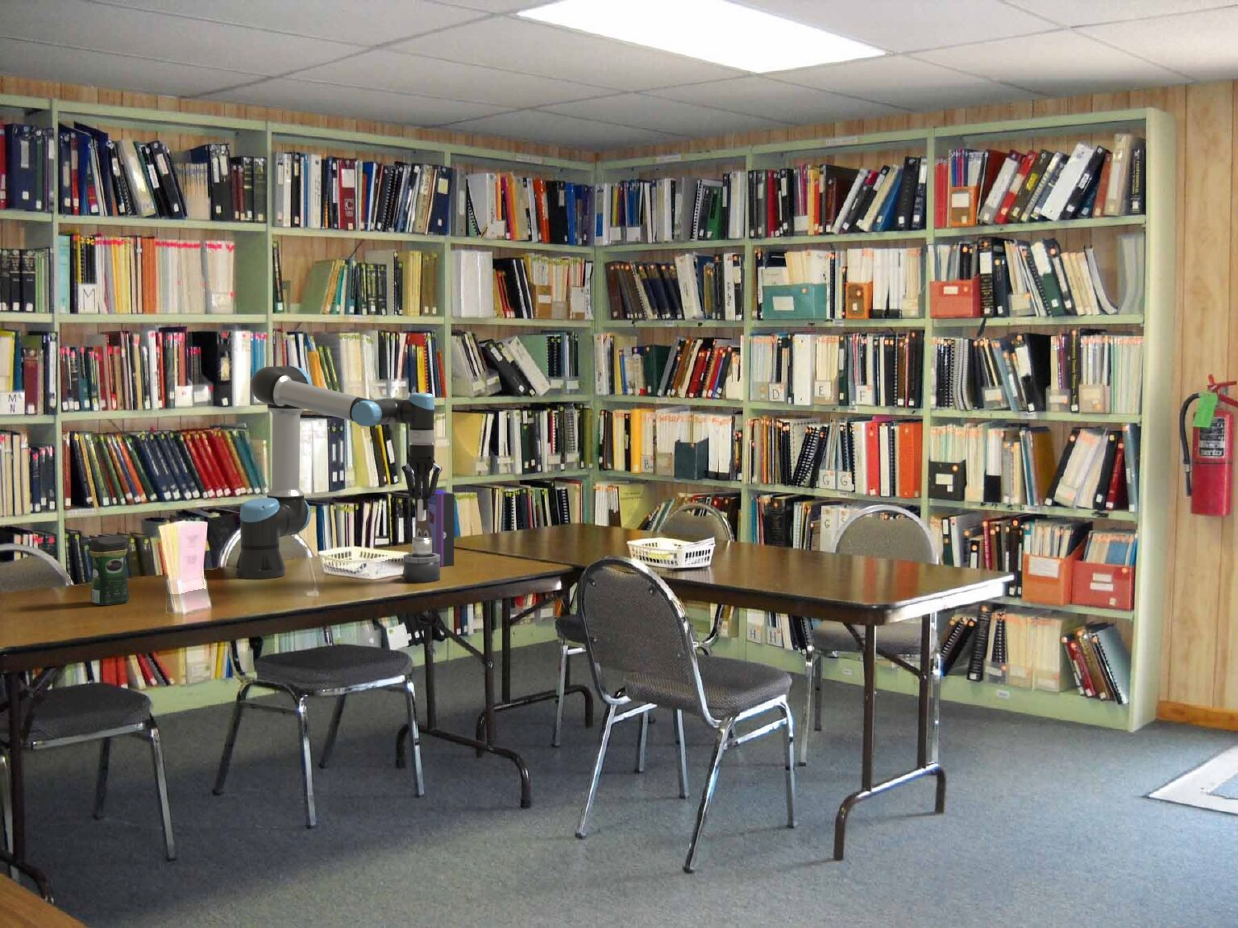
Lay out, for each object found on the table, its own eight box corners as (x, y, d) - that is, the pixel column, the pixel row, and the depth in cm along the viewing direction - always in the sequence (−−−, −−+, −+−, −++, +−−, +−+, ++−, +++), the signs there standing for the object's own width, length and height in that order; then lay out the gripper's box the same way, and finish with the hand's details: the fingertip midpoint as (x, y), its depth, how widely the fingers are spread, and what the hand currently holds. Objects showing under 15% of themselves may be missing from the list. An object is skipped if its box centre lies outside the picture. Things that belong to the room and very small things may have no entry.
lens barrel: (397, 581, 408) (397, 557, 407) (413, 575, 418) (413, 551, 417) (430, 583, 404) (430, 559, 404) (445, 577, 415) (445, 553, 414)
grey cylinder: (408, 561, 409) (408, 538, 408) (417, 558, 414) (417, 535, 414) (426, 562, 407) (426, 539, 406) (435, 559, 412) (435, 537, 412)
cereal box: (415, 559, 448) (415, 488, 446) (427, 558, 451) (427, 487, 449) (441, 567, 434) (441, 493, 432) (454, 565, 437) (454, 492, 435)
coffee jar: (120, 598, 376) (119, 533, 374) (133, 602, 370) (131, 536, 368) (86, 602, 369) (85, 536, 367) (98, 607, 363) (96, 539, 362)
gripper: (396, 443, 406) (397, 520, 408) (436, 445, 402) (436, 523, 404) (408, 442, 413) (408, 517, 415) (446, 443, 409) (446, 520, 411)
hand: (421, 520), depth 409 cm, fingers closed
